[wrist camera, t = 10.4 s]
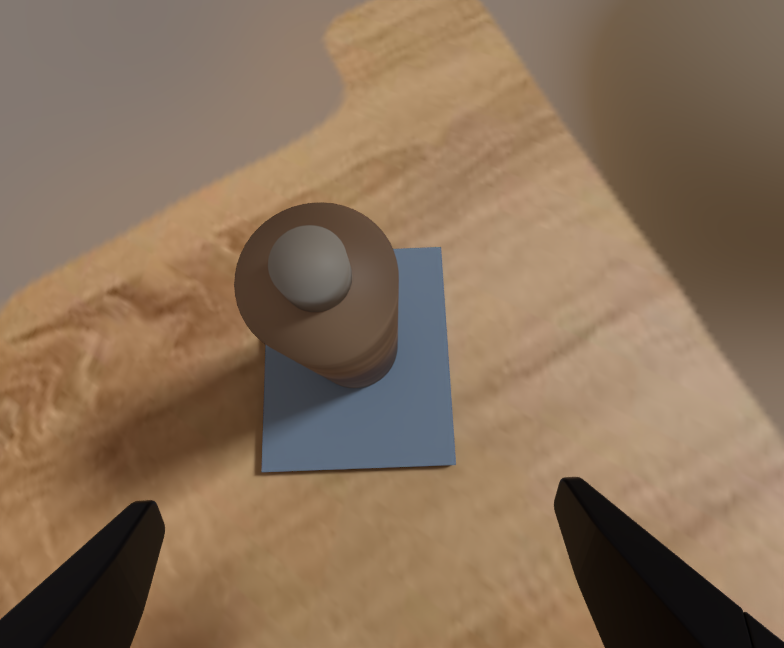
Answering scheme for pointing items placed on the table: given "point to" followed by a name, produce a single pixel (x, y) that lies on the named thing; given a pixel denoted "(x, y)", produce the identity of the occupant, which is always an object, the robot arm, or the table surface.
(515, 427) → the table surface
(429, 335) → the placemat
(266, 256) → the pepper mill
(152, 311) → the table surface
